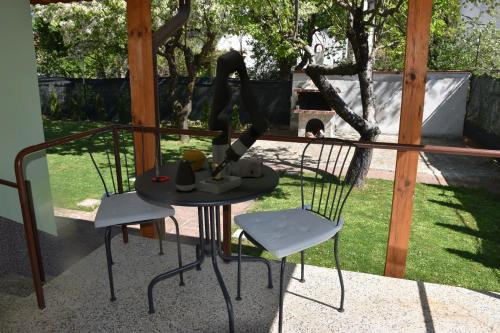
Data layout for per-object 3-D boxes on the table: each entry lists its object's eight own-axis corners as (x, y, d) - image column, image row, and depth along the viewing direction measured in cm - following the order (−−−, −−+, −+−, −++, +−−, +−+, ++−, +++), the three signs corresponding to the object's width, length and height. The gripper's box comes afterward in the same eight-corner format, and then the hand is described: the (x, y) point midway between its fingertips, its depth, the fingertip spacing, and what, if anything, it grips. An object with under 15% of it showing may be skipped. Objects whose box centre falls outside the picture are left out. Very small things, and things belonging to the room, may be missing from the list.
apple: (194, 166, 247) (193, 147, 244) (210, 168, 239) (209, 149, 237) (178, 170, 237) (177, 151, 234) (195, 173, 229) (194, 153, 227)
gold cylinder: (217, 186, 202) (216, 162, 199) (224, 188, 199) (223, 163, 196) (210, 189, 198) (209, 164, 195) (218, 190, 195) (217, 165, 192)
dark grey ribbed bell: (198, 191, 195) (197, 160, 191) (176, 193, 192) (174, 162, 188) (195, 185, 204) (193, 156, 201) (174, 188, 202) (172, 157, 198)
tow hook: (156, 178, 223) (149, 181, 214) (155, 154, 220) (148, 157, 211) (171, 178, 221) (165, 182, 212) (170, 154, 219) (164, 157, 210)
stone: (237, 178, 217) (236, 160, 215) (241, 173, 228) (240, 155, 226) (261, 179, 215) (260, 160, 213) (264, 173, 226) (264, 155, 224)
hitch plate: (222, 181, 211) (222, 172, 210) (241, 185, 204) (241, 175, 203) (198, 190, 197) (198, 180, 195) (217, 194, 190) (217, 184, 189)
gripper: (233, 141, 200) (210, 165, 204) (229, 147, 186) (204, 172, 190) (244, 152, 200) (221, 176, 204) (241, 158, 186) (216, 184, 191)
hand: (213, 174), depth 197 cm, fingers open, 5 cm apart
